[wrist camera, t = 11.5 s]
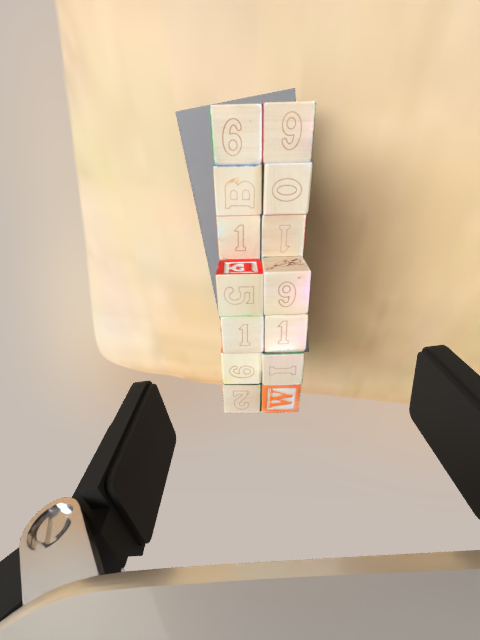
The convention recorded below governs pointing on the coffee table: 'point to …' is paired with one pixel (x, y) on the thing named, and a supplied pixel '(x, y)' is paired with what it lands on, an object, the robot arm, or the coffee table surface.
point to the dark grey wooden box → (211, 168)
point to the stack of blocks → (262, 250)
